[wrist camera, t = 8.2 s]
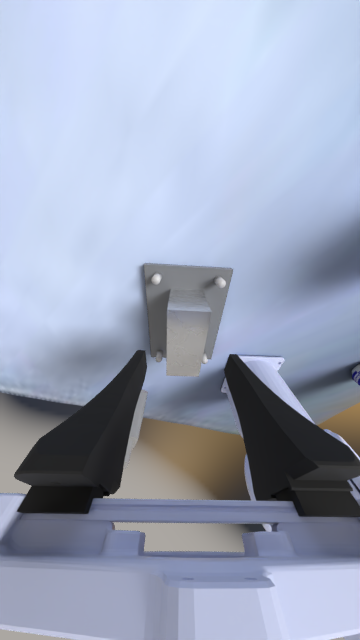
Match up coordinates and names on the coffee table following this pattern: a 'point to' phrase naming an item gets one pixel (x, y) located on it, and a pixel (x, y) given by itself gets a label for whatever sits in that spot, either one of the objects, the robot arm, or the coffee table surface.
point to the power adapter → (136, 425)
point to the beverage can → (356, 374)
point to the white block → (186, 331)
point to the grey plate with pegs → (188, 278)
